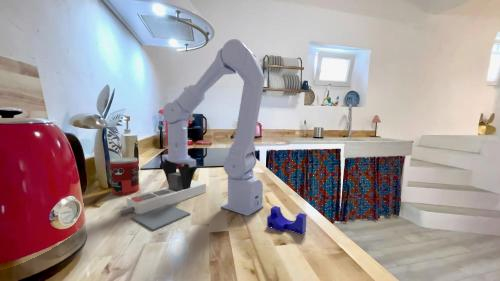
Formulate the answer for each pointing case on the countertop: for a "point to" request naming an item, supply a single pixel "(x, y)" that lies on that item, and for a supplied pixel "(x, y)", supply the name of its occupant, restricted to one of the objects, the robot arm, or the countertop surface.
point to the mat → (160, 217)
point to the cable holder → (286, 221)
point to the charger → (175, 181)
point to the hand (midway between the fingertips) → (178, 186)
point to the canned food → (124, 175)
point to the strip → (161, 198)
